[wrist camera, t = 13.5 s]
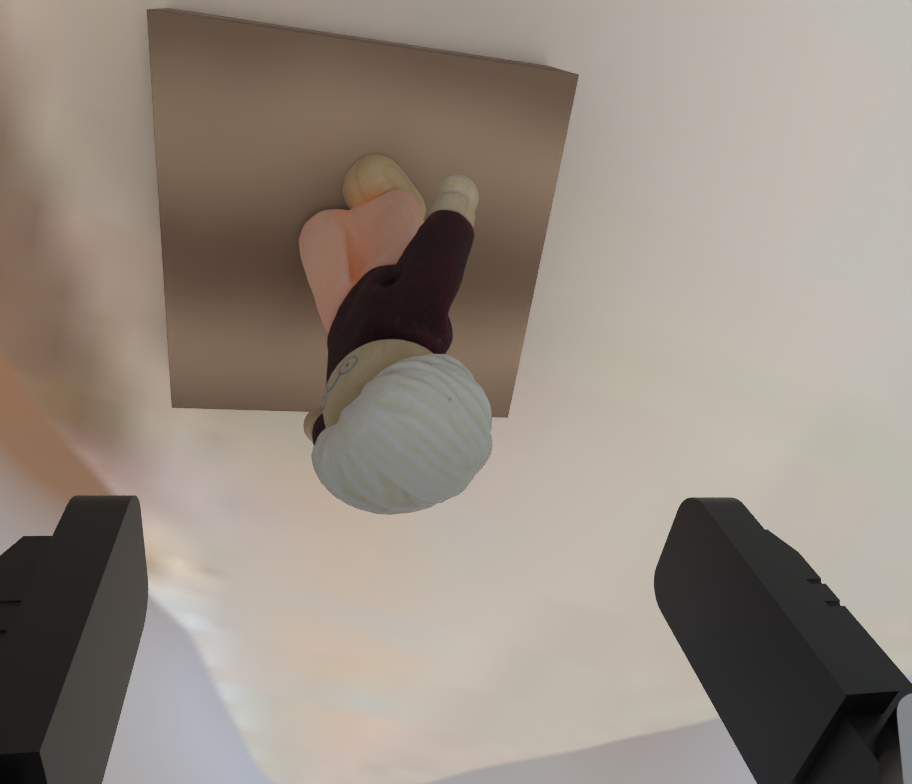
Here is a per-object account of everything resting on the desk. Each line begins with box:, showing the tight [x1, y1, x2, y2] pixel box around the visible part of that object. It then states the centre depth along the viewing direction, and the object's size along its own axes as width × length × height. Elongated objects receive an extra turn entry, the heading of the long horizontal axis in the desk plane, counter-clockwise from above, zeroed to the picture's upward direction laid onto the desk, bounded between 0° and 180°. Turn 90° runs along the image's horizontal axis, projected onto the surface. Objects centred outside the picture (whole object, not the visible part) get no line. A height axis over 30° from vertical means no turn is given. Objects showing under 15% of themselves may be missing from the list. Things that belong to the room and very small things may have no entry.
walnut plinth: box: [147, 8, 579, 418], centre depth 23 cm, size 12×12×3 cm
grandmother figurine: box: [299, 154, 492, 514], centre depth 16 cm, size 8×4×13 cm, turn 160°
